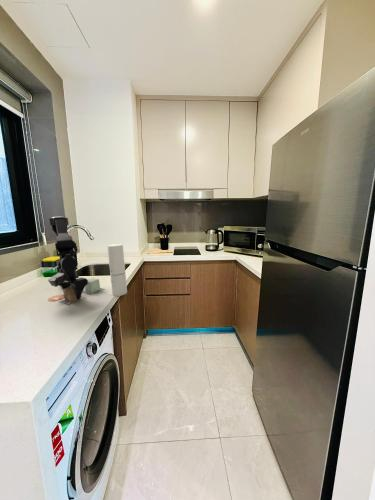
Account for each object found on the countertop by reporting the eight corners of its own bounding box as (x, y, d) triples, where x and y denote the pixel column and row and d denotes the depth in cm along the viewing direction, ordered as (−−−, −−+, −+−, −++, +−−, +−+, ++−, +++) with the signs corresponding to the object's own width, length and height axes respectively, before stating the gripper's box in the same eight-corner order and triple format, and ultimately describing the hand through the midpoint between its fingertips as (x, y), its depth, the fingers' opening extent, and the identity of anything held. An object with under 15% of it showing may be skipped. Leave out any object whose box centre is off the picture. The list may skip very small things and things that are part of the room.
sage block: (85, 291, 107) (84, 280, 106) (94, 288, 111) (92, 278, 110) (91, 293, 104) (90, 282, 103) (100, 289, 109) (98, 279, 108)
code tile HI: (80, 292, 106) (79, 292, 106) (95, 287, 114) (95, 286, 114) (90, 295, 102) (90, 295, 102) (105, 289, 109) (105, 289, 109)
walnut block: (64, 301, 96) (63, 288, 95) (75, 297, 100) (73, 285, 99) (70, 302, 93) (69, 290, 92) (81, 298, 98) (79, 287, 97)
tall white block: (122, 289, 108) (117, 243, 104) (130, 292, 104) (125, 244, 99) (109, 294, 103) (104, 245, 98) (117, 297, 98) (112, 246, 94)
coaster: (44, 300, 99) (44, 299, 99) (61, 294, 105) (61, 293, 105) (53, 303, 95) (53, 302, 95) (70, 296, 101) (70, 296, 101)
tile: (58, 302, 95) (58, 301, 95) (76, 295, 103) (76, 295, 103) (69, 306, 91) (69, 305, 91) (87, 298, 98) (87, 298, 98)
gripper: (38, 268, 92) (44, 300, 94) (61, 272, 82) (66, 308, 85) (63, 262, 101) (68, 292, 104) (86, 266, 92) (90, 298, 94)
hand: (72, 297), depth 97 cm, fingers open, 9 cm apart
